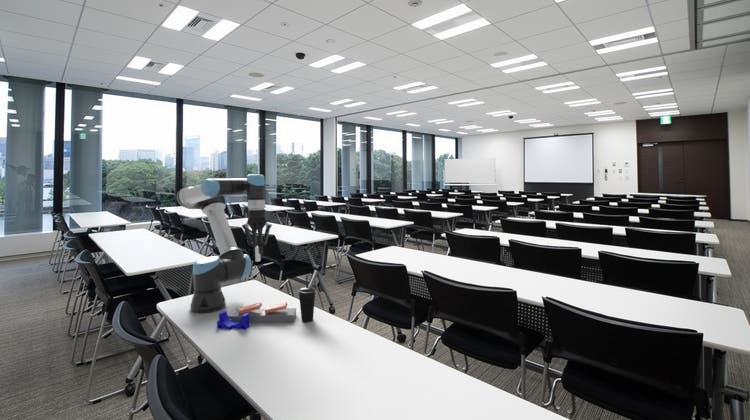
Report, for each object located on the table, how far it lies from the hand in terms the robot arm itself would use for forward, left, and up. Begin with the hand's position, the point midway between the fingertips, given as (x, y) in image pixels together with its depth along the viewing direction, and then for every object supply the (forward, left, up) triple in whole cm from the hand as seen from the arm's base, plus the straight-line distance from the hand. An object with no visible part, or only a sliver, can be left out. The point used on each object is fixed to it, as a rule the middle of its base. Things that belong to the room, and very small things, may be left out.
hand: (258, 260), depth 163 cm
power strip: (+6, -5, -24) cm, 26 cm away
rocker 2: (+12, -1, -20) cm, 23 cm away
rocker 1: (+4, -8, -20) cm, 21 cm away
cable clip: (+4, -17, -25) cm, 30 cm away
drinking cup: (+24, +6, -24) cm, 35 cm away
